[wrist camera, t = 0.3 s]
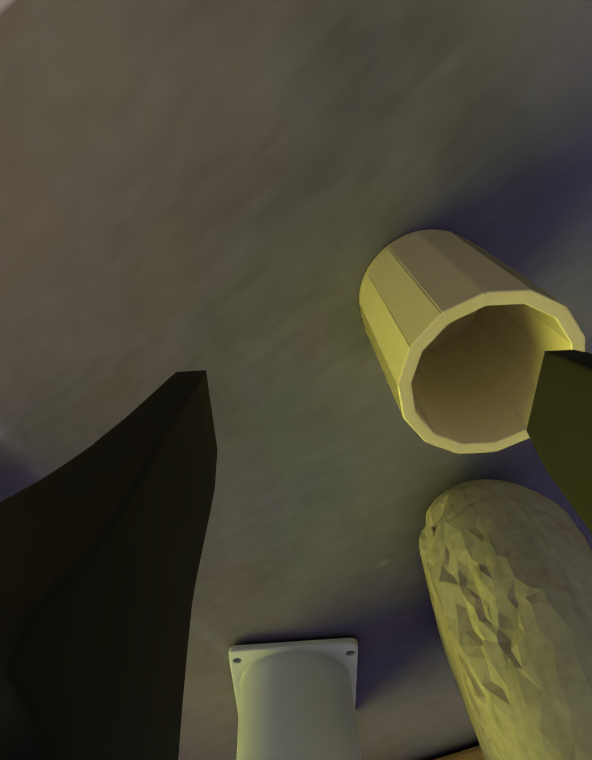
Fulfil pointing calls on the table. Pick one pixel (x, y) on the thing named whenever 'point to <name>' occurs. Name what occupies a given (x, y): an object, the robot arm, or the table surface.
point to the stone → (514, 617)
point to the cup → (460, 339)
